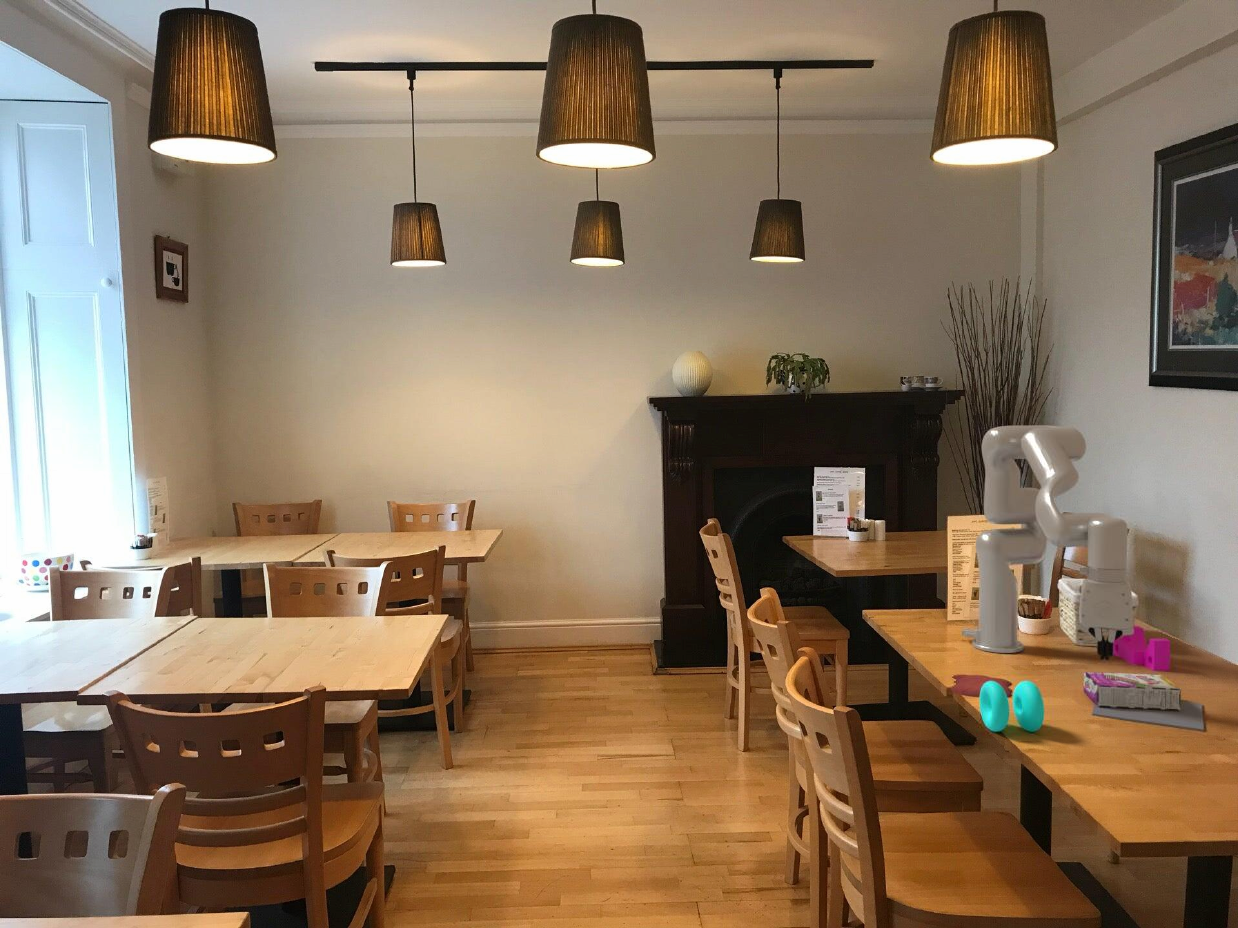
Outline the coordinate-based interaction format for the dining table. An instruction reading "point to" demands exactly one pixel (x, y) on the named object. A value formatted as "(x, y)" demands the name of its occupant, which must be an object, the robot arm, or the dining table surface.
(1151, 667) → the toy block
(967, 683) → the patty
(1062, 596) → the storage basket
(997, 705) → the donuts
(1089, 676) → the candy bar box
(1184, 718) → the mat
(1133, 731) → the dining table surface
